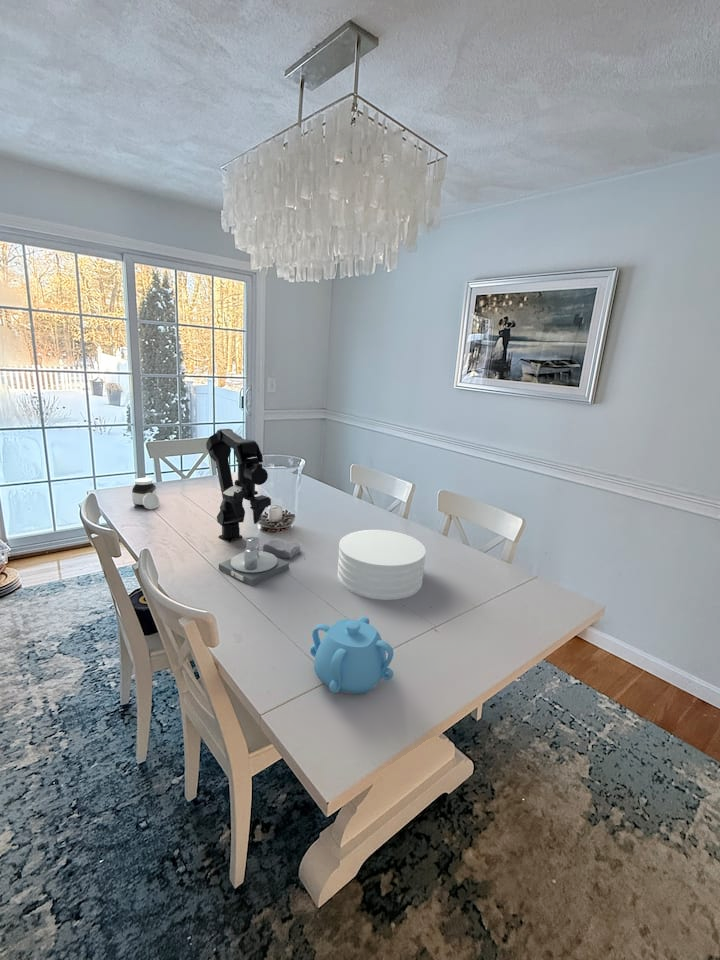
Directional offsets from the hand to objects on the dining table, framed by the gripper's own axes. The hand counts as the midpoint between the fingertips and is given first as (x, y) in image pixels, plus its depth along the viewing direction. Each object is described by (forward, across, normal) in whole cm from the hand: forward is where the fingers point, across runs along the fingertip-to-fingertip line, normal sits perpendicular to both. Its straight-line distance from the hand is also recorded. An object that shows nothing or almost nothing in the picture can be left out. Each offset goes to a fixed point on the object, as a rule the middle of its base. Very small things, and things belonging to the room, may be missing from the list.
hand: (246, 520), depth 157 cm
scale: (+12, +12, -7) cm, 18 cm away
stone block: (+12, +9, +9) cm, 18 cm away
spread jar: (+12, -67, +1) cm, 68 cm away
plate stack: (+12, +46, +17) cm, 51 cm away
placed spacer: (+9, +15, -11) cm, 21 cm away
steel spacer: (+9, +9, -5) cm, 14 cm away
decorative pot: (+12, +67, -27) cm, 74 cm away
